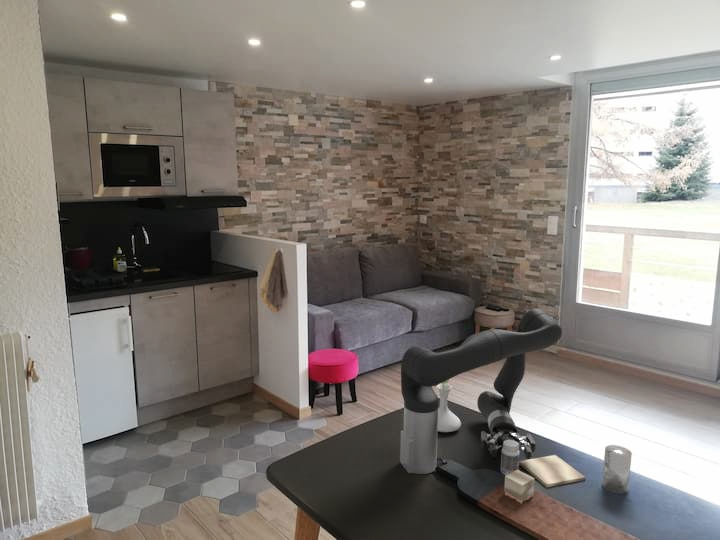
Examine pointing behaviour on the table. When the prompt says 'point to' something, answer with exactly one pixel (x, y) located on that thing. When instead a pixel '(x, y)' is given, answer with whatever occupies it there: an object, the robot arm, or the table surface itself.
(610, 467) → the tin can
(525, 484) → the ash block
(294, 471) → the table surface
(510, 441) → the pill bottle
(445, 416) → the flower in vase
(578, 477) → the oak mat
